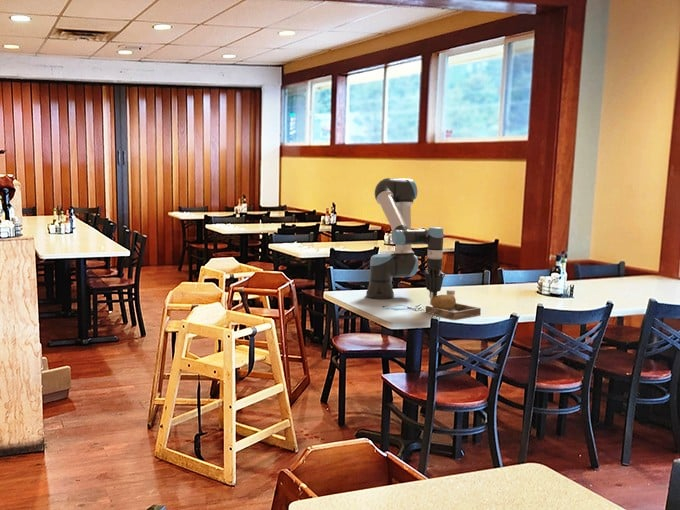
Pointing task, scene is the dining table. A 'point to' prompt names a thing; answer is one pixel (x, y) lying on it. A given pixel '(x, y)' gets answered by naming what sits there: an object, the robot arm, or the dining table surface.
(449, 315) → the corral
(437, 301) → the potato
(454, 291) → the pepper shaker
